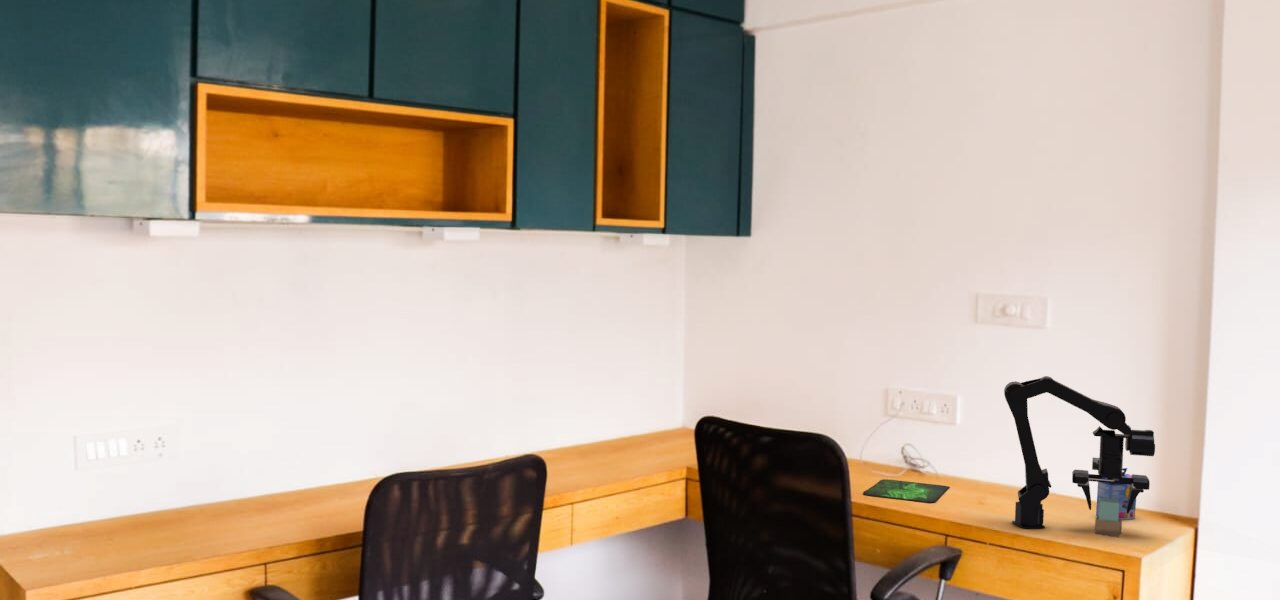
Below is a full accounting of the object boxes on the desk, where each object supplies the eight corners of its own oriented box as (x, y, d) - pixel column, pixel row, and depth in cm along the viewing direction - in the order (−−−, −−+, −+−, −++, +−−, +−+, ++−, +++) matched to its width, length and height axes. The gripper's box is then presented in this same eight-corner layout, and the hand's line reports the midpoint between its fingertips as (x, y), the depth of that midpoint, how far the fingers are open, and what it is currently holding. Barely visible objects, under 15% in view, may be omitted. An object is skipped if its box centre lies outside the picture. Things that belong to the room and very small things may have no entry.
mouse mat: (882, 479, 356) (882, 476, 356) (951, 487, 347) (951, 484, 347) (861, 496, 332) (861, 493, 332) (934, 505, 322) (935, 501, 322)
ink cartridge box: (1109, 521, 305) (1111, 470, 304) (1094, 516, 310) (1096, 466, 310) (1136, 519, 309) (1139, 468, 308) (1121, 514, 314) (1124, 464, 313)
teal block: (1118, 521, 290) (1118, 503, 289) (1099, 520, 291) (1100, 501, 291) (1117, 517, 294) (1117, 499, 294) (1098, 516, 296) (1099, 497, 295)
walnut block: (1119, 538, 289) (1119, 523, 288) (1094, 534, 292) (1095, 519, 291) (1121, 533, 294) (1122, 518, 294) (1097, 529, 297) (1097, 515, 297)
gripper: (1147, 451, 296) (1144, 508, 297) (1073, 445, 302) (1070, 501, 303) (1150, 458, 285) (1148, 517, 286) (1073, 452, 292) (1071, 510, 293)
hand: (1108, 511), depth 292 cm, fingers open, 9 cm apart
